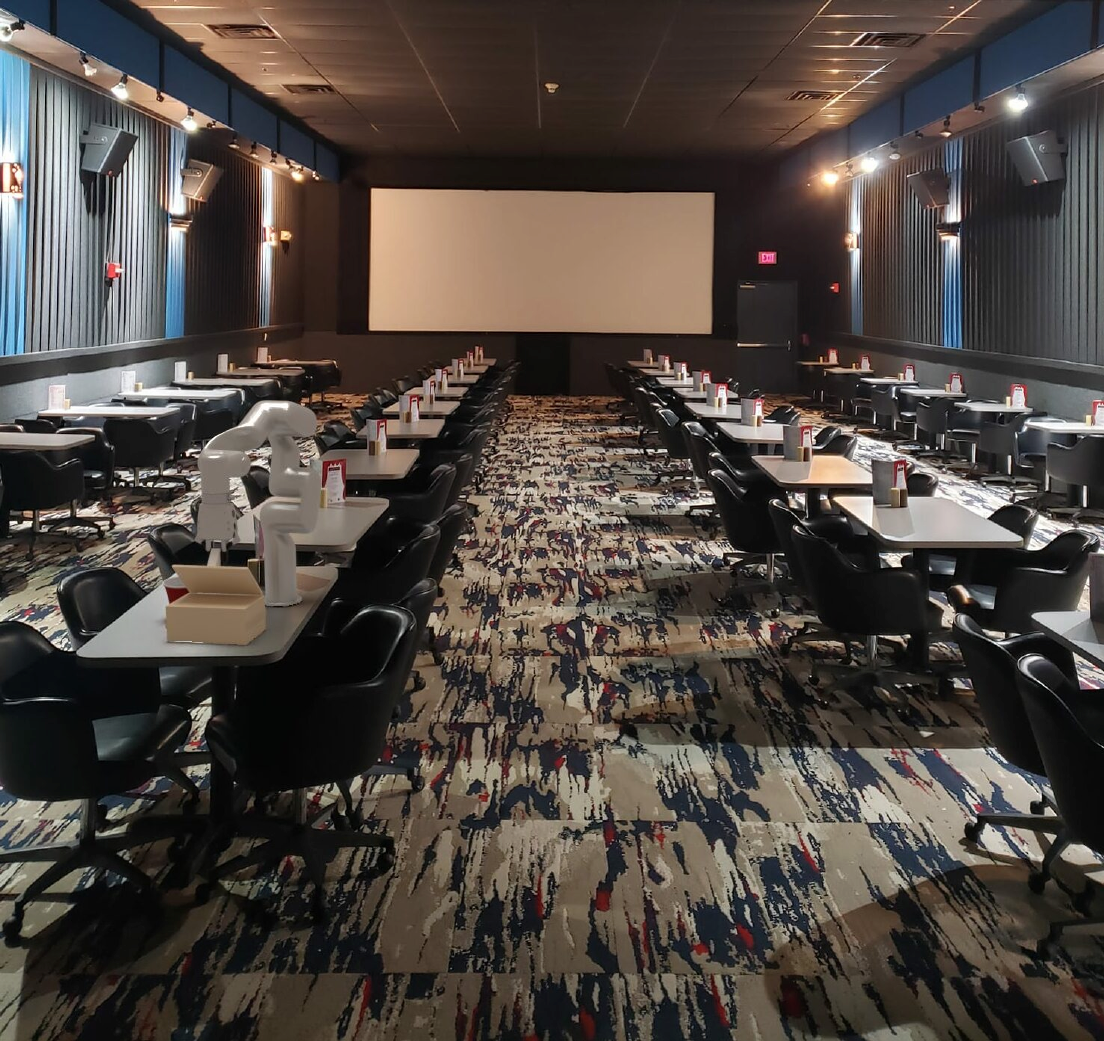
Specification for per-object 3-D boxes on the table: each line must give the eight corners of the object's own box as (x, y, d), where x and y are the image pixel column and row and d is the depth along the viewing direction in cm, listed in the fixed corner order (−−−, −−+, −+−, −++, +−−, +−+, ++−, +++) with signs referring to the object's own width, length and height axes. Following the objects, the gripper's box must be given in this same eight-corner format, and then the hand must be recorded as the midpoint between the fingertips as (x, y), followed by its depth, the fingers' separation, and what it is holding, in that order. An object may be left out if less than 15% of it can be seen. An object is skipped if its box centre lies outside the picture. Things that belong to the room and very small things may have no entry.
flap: (189, 592, 332) (194, 572, 335) (262, 595, 330) (267, 574, 333) (171, 566, 319) (177, 545, 323) (247, 569, 317) (252, 548, 321)
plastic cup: (161, 625, 335) (159, 584, 333) (166, 616, 346) (164, 576, 344) (201, 624, 338) (199, 583, 335) (204, 615, 348) (203, 575, 346)
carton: (189, 627, 334) (188, 592, 333) (266, 629, 332) (265, 595, 331) (166, 642, 319) (164, 606, 317) (246, 645, 317) (245, 609, 315)
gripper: (249, 497, 325) (251, 562, 328) (192, 496, 326) (195, 561, 329) (239, 501, 317) (242, 568, 320) (182, 500, 319) (184, 566, 322)
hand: (218, 564), depth 325 cm, fingers closed on flap, 2 cm apart
